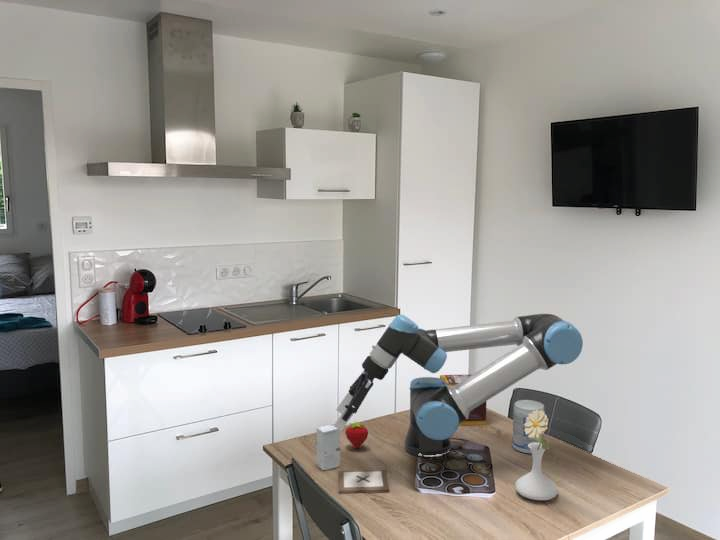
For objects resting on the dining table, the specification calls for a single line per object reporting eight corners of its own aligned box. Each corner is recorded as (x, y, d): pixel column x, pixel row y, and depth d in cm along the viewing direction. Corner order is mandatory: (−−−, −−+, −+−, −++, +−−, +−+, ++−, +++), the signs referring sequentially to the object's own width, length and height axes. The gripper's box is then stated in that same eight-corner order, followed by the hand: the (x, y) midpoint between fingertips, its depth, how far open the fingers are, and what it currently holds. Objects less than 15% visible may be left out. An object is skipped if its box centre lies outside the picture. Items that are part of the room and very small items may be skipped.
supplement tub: (524, 456, 188) (526, 411, 186) (506, 445, 196) (507, 401, 194) (549, 451, 191) (551, 407, 189) (530, 440, 200) (531, 397, 198)
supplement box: (486, 425, 213) (487, 382, 211) (443, 426, 213) (443, 383, 211) (480, 414, 223) (481, 373, 221) (439, 415, 223) (439, 374, 221)
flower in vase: (510, 483, 170) (512, 399, 167) (551, 484, 170) (554, 399, 167) (521, 507, 158) (523, 416, 154) (565, 508, 157) (568, 416, 154)
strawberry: (365, 453, 191) (365, 423, 190) (343, 450, 193) (342, 420, 192) (370, 446, 196) (370, 416, 195) (348, 443, 199) (348, 414, 197)
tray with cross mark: (385, 472, 178) (385, 468, 178) (389, 492, 166) (389, 488, 166) (338, 473, 178) (338, 469, 178) (338, 493, 166) (338, 489, 166)
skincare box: (323, 471, 179) (322, 432, 177) (316, 465, 183) (315, 427, 181) (341, 466, 182) (340, 427, 181) (333, 460, 186) (333, 423, 184)
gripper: (368, 345, 189) (330, 399, 191) (368, 366, 164) (325, 428, 166) (388, 358, 189) (350, 412, 191) (391, 381, 164) (347, 442, 166)
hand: (338, 419), depth 178 cm, fingers open, 13 cm apart
